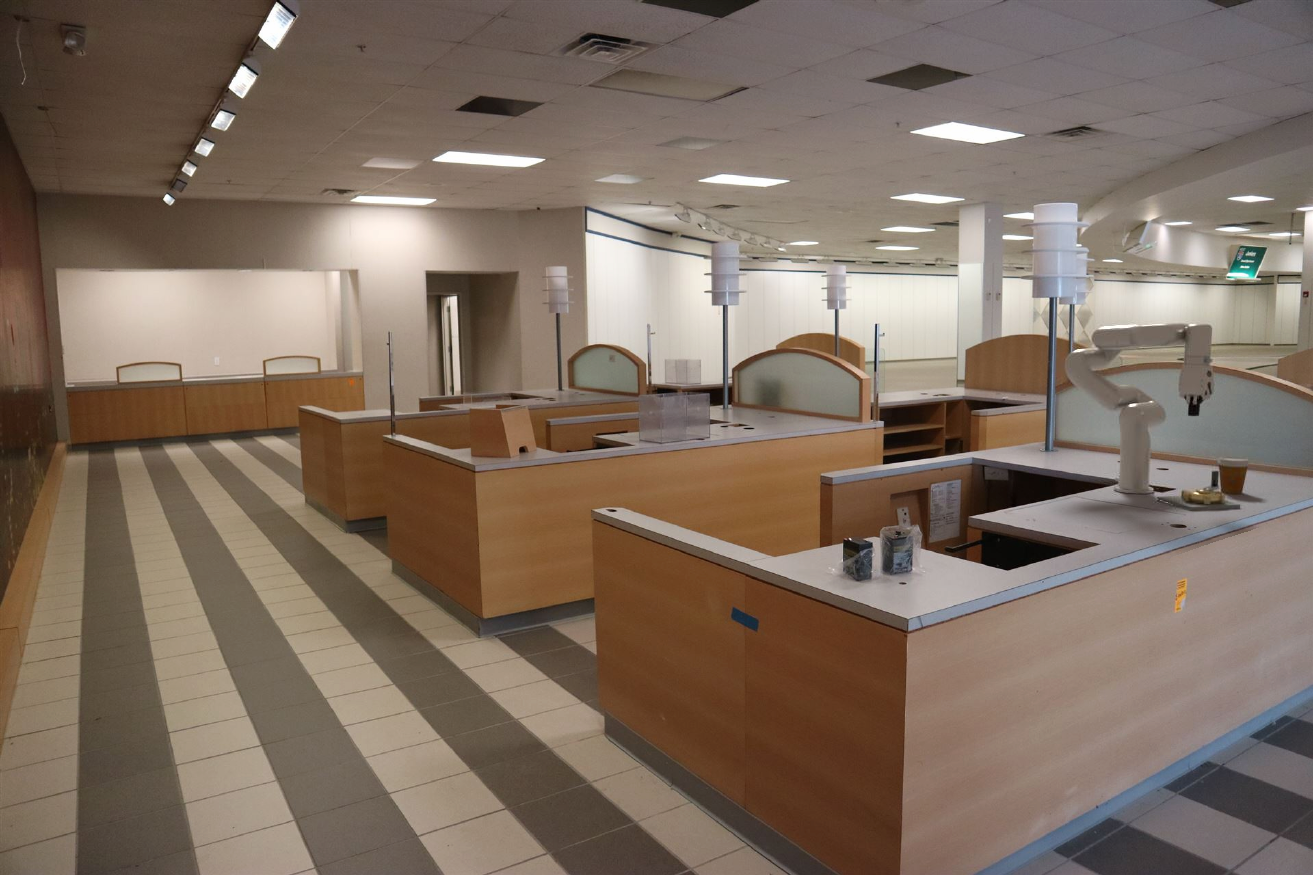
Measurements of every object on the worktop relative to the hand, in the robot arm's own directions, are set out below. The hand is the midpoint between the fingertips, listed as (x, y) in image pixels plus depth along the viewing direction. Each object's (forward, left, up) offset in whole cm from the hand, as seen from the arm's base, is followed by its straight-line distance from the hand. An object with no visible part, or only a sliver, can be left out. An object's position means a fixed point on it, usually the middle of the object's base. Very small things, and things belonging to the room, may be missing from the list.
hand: (1193, 415), depth 301 cm
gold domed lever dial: (+7, +1, -27) cm, 28 cm away
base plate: (+7, -2, -29) cm, 30 cm away
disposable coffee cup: (-8, +22, -29) cm, 37 cm away
